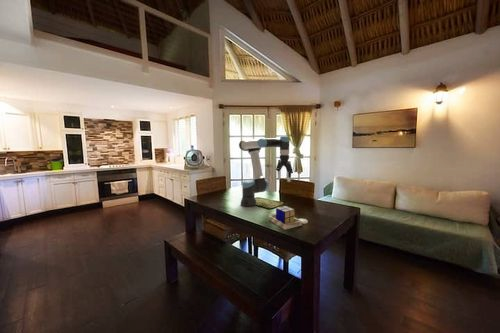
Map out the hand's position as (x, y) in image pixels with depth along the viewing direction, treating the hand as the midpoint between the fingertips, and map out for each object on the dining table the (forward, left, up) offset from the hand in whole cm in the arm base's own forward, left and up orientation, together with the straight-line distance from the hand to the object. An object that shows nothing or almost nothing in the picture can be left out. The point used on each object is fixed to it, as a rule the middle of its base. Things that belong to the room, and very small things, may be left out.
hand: (283, 180), depth 175 cm
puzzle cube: (+17, -11, -28) cm, 35 cm away
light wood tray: (+17, -11, -29) cm, 35 cm away
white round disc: (+22, +2, -29) cm, 36 cm away
